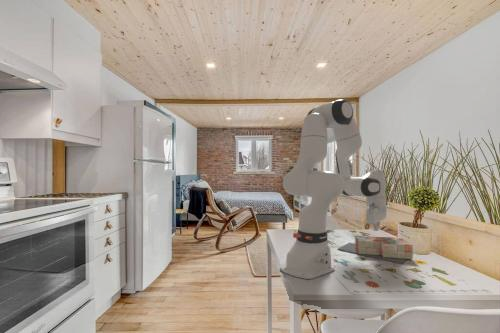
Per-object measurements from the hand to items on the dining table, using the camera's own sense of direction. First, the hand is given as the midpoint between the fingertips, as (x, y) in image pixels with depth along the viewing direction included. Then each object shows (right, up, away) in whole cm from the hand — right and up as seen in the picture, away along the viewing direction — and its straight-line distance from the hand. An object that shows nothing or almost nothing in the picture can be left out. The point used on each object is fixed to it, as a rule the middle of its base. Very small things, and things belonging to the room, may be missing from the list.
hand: (376, 230), depth 123 cm
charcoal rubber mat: (-4, -9, -5) cm, 11 cm away
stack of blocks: (0, -6, -1) cm, 6 cm away
